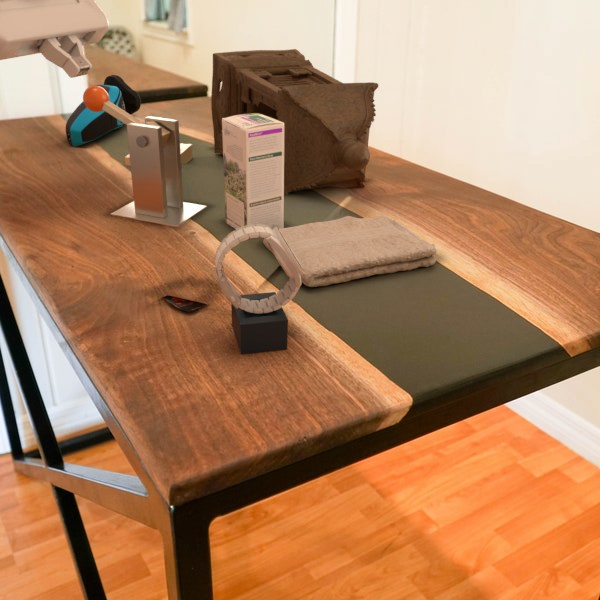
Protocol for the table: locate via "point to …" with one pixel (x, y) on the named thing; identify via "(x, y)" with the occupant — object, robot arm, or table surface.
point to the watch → (263, 306)
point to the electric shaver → (101, 113)
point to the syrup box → (253, 170)
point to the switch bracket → (156, 176)
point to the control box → (185, 154)
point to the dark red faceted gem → (183, 303)
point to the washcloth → (355, 249)
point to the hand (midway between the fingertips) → (82, 73)
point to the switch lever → (113, 108)
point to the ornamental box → (298, 114)
